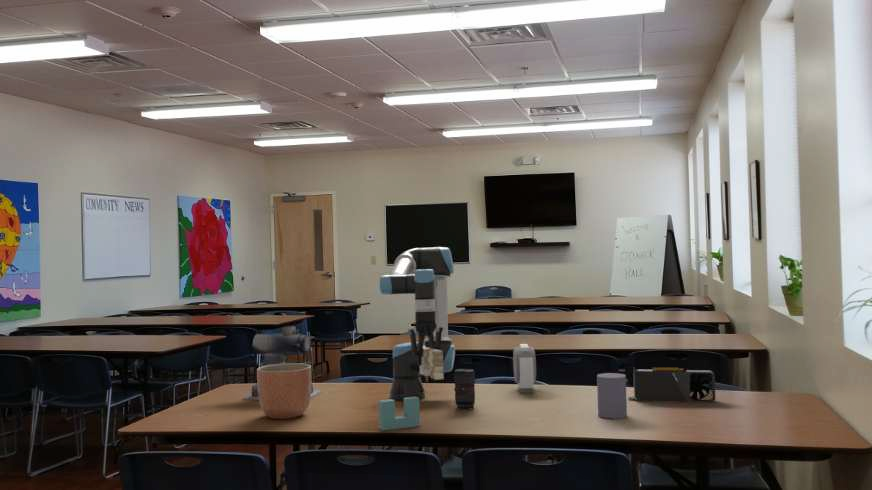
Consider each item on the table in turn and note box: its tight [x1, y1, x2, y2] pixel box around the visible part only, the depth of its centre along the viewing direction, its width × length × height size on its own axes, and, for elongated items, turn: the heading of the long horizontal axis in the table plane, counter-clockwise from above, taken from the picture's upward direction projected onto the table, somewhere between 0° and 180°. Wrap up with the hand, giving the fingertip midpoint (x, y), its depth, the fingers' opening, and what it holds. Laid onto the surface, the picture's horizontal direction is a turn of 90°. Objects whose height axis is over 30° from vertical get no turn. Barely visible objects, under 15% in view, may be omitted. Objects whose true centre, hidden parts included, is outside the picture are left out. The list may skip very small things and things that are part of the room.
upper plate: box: [420, 347, 445, 380], centre depth 275 cm, size 14×3×10 cm, turn 23°
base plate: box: [378, 397, 421, 431], centre depth 267 cm, size 14×3×10 cm, turn 111°
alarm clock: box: [512, 343, 537, 394], centre depth 329 cm, size 18×8×20 cm, turn 179°
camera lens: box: [453, 368, 476, 410], centre depth 296 cm, size 8×8×15 cm
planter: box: [256, 362, 312, 420], centre depth 291 cm, size 21×21×19 cm
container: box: [596, 372, 628, 420], centre depth 275 cm, size 10×10×15 cm
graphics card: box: [628, 367, 716, 403], centre depth 299 cm, size 33×5×14 cm, turn 76°
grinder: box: [241, 326, 323, 401], centre depth 333 cm, size 18×31×31 cm, turn 79°
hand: (427, 373), depth 279 cm, fingers closed on upper plate, 3 cm apart
